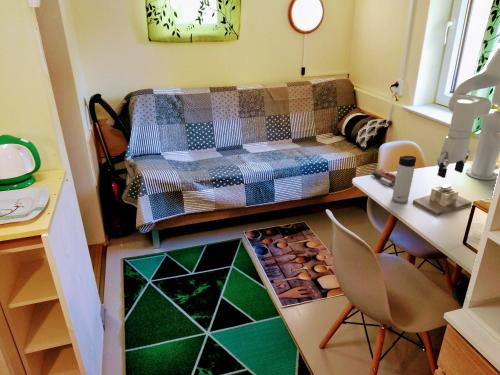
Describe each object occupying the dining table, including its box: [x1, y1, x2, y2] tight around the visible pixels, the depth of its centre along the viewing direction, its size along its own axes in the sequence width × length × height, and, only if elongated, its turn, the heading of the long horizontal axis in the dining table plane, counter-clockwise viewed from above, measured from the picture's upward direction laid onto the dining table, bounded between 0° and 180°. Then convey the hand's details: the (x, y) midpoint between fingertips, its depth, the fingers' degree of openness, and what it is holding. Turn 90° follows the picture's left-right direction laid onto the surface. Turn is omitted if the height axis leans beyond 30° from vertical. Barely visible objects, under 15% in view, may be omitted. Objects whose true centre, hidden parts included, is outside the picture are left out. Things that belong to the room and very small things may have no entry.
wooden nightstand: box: [429, 184, 459, 206], centre depth 156 cm, size 7×7×5 cm
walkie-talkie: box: [371, 168, 397, 188], centre depth 176 cm, size 9×4×20 cm
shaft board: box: [412, 183, 473, 217], centre depth 156 cm, size 20×12×8 cm, turn 116°
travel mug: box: [391, 155, 417, 205], centre depth 156 cm, size 6×7×20 cm
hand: (449, 174), depth 152 cm, fingers open, 9 cm apart
